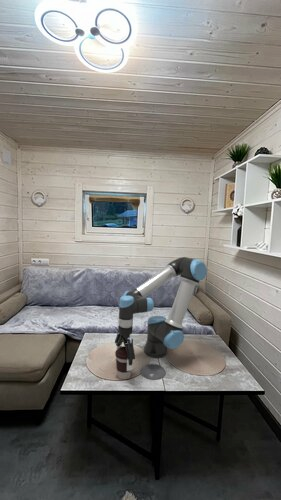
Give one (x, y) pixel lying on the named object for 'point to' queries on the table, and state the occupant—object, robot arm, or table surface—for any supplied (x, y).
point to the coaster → (153, 371)
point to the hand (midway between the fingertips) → (123, 363)
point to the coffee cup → (122, 363)
